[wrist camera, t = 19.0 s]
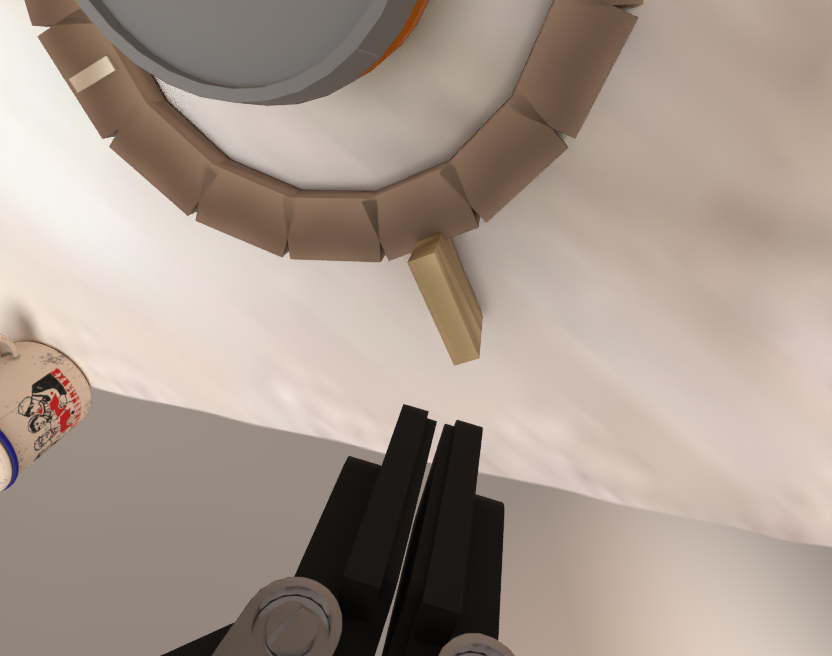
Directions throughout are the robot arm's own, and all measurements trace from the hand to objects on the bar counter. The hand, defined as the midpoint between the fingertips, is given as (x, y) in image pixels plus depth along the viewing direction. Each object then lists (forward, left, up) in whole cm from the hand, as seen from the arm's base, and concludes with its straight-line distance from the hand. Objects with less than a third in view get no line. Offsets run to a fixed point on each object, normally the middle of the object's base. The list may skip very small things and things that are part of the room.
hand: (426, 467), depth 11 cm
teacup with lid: (+32, +24, -25) cm, 47 cm away
